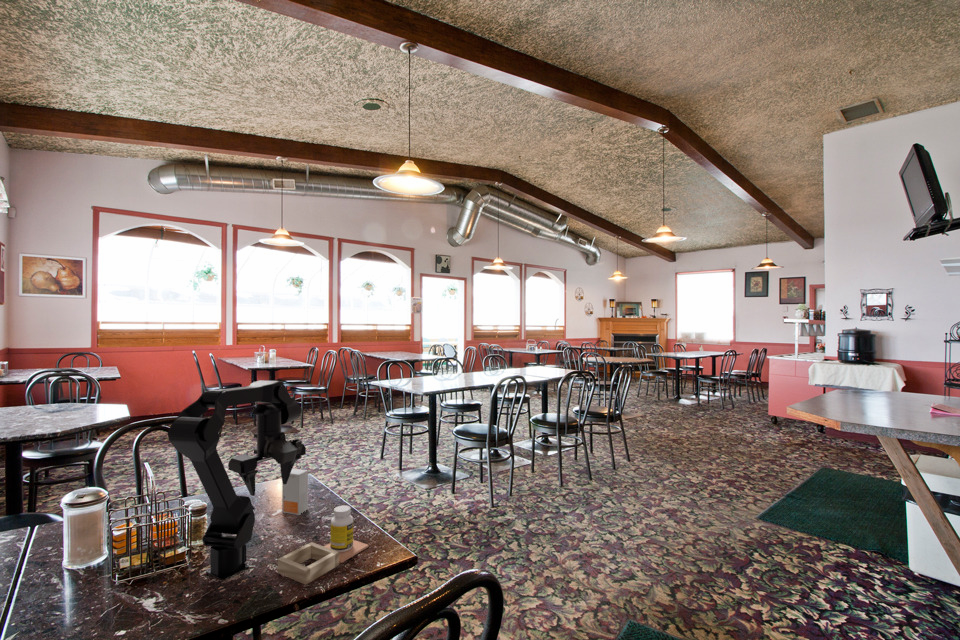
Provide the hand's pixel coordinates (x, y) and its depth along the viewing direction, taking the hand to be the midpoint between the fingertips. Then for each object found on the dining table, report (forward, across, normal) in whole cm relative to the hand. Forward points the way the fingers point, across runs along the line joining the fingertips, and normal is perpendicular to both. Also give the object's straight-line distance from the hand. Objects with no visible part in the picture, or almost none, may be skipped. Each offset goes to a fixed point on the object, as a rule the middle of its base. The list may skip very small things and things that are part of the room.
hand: (269, 489), depth 121 cm
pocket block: (+13, -4, -20) cm, 24 cm away
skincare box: (+13, +15, +9) cm, 22 cm away
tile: (+13, +6, -20) cm, 25 cm away
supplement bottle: (+13, +6, -20) cm, 24 cm away
